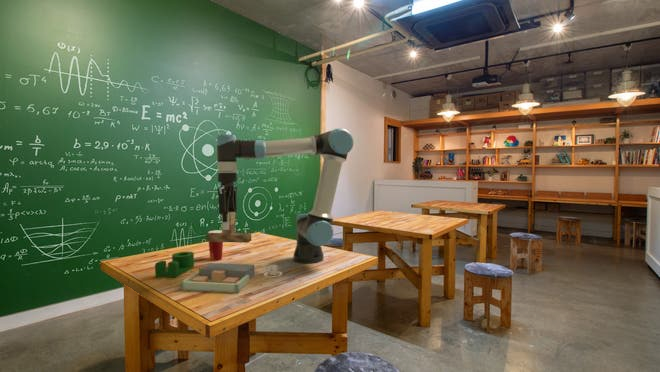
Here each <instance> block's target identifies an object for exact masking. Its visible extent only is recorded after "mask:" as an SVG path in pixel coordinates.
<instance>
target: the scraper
mask: <svg viewBox="0 0 660 372" xmlns="http://www.w3.org/2000/svg"><path fill="white" fill-rule="evenodd" d="M228 214H229V223H230V230H223V226H222V225H221V231H222V233H209V234H208V233H207V234H205V242H207V243H209V242H223V243H240V244H241V243H242V244H244V243H247V244H248V243H251V241H252V233H249V232H248V233H247V232H246V233H243V232H241V233H240V232H236V212H229V211H228Z"/></svg>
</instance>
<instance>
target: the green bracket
mask: <svg viewBox="0 0 660 372" xmlns="http://www.w3.org/2000/svg"><path fill="white" fill-rule="evenodd" d="M194 255H195V254H194V252H192V251H180V252H176V253H172V255H171V261H169V262H168V264H167V260H159V261H157V262H155V264H154V270H155V273H154V275H155V276H154V277H155V278H168V279H169V278H171V279H172V278H174V279H176V278H177V277H178V278H179V277H180V276H182V275H183V274H184V273H186V272H188V271H190V270H191V269H194V267H195V256H194Z"/></svg>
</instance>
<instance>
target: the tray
mask: <svg viewBox="0 0 660 372" xmlns="http://www.w3.org/2000/svg"><path fill="white" fill-rule="evenodd" d="M197 276H199V272H195V273H193V274H191V275H190V276H189V277H187V278H185V279H184V280H183V279H182V280H181V281H180V282H179V285H180V287H179V289H180V291H188V292H189V291H191V292H192V291H193V292H194V291H195V292H210V293H211V292H214V293H226V294H227V293H230V294H239V293H240V292H241V291H242V290H243V289H244V288H245V287H247V285H249V283H250V280H249V275H246V276H244V277H243V278H242V279H241V280H240V281H238V282H237V283H236V284H233V283H212V280H211V279H208V282H192V281H191V280H192V279H193V278H195V277H197Z"/></svg>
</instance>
